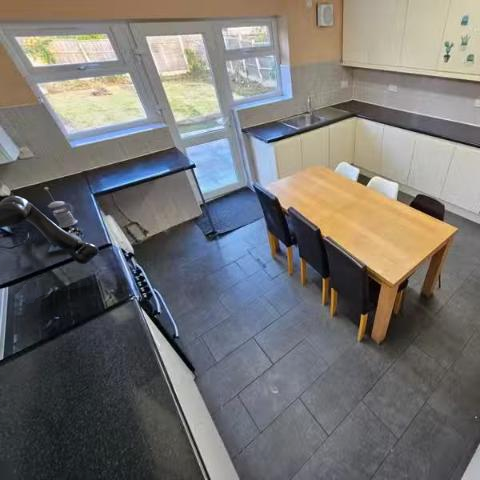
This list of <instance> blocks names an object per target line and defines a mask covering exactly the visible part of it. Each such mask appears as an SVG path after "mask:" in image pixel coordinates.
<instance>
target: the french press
mask: <svg viewBox="0 0 480 480" xmlns="http://www.w3.org/2000/svg"><path fill="white" fill-rule="evenodd" d="M43 189H44V191H47V192H48V193H49V195H50V197H51V200H53V202H50V203H49V204H48V205H47V207H48V208H49V209H54V210H53V211H52V214H53V216H54V218H55V219H56V221H57V222H58V227H60V228H61V229H63V228H68V227H73V226H74V225H76V224H77V223H78V222H79V221H78V220H77V219H75V217H74V216H73V214H74V212H75V211H74V207H73V206H72V205H71V204H70V203H67V202H66V203H65V201H61V200H57V201H55V200H54V198H53V197H52V195H51V193H50V192H49V187H48V186H45V187H44V188H43ZM67 205H69V207H70V210H71V211H70V210H69V209H68V207H66V206H67ZM63 206H65V207H63Z"/></svg>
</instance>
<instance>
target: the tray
mask: <svg viewBox="0 0 480 480" xmlns="http://www.w3.org/2000/svg"><path fill="white" fill-rule="evenodd" d="M80 230H81V231H82V232H83V234H82V235H81V234H78V235H77V236H78V237H80V238H81V239H82V240H83V239H84V237H85V233H86V231H85V230H84V228H82V229H81V228H80ZM76 233H77V231H76ZM56 248H58V250H54V249H56ZM64 251H65V250H64V249H62V248H60V247H59V246H56V247H54V246H52V245H51V244H50V245H49V248H48V250H47V252H46V253H47V255H48V256H50V254H51V255H55V254H54V253H56V254H59V253H65V252H66V251H65V252H64Z"/></svg>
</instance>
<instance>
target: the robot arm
mask: <svg viewBox="0 0 480 480" xmlns="http://www.w3.org/2000/svg"><path fill="white" fill-rule="evenodd" d="M24 221H27V222H29V223H30V224H32V225H33V226H34V227H36V229H37V230H38V231H39V232H40V233H41V234H42V235H43V236H44V237H45V238H46V241H47V242H48V243H49V244H50V246H51V245H52V246H54V247H56V246H59V247H60V248H62V249H64V250H65V252H66V253H67V254H68V255H69V256H70V257H71V258H72V259H73V261H75V262H76V263H77V264H80V265H85V264H88V263H89V262H90V261H91V260H93V258H95V257H96V256H97V255H99V252H100V250H99V248H98V246H97V245H95V244H93V243H90V242H86V241H84V240H83V239H81V238H80V237H78V236H77V235H78V234H81V235H82V234H83V232H82V231H81V228H79V227H78V226H76V227H75V228H74V227H73V226H68V227H67V228H68V231H66V230H64V229H63V228H62V227H59V225H57V224H56V223H54V222H53V221H52V220H51V219H50V218H48V217H47V215H45V214H44V213H43V212H41V211H40V210H39V209H38V208H37V207H36V206H35V205H33V203H31V202H30V201H28V199H26V198H23V197H21V196H17V195H10V196H7V197H5V198H3V199H2V200H1V201H0V229H3V228H7V227H10V226H15V225H17V224H20V223H23V222H24ZM76 231H77V233H76Z"/></svg>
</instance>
